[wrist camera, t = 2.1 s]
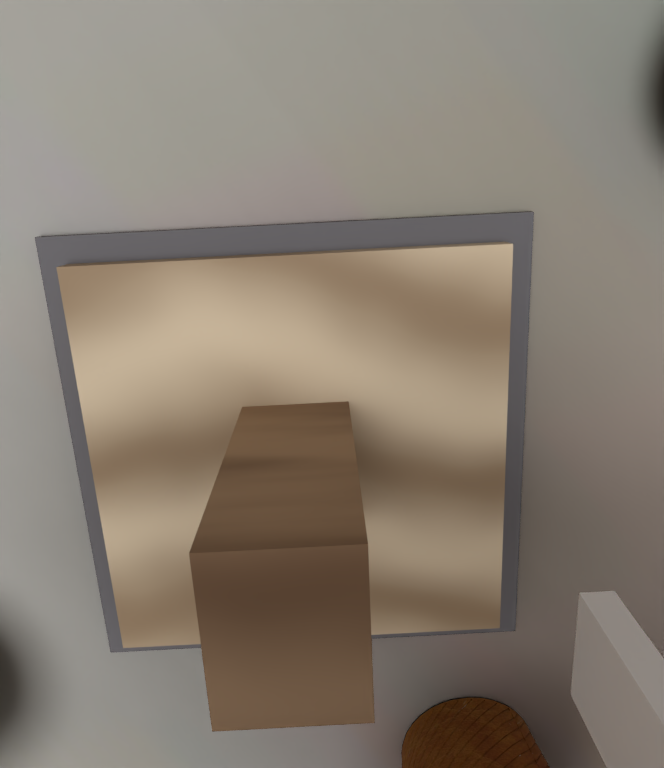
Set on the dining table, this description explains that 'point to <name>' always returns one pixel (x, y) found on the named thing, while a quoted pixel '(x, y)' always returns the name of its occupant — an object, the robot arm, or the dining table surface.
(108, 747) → the dining table surface
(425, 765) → the disposable coffee cup
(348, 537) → the oak lid
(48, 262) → the rubber mat
